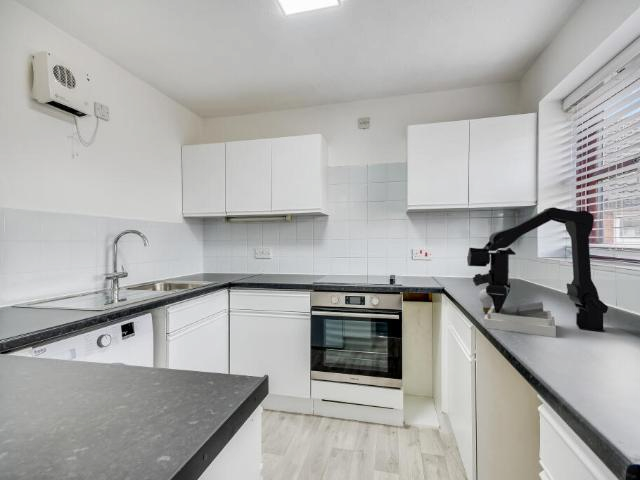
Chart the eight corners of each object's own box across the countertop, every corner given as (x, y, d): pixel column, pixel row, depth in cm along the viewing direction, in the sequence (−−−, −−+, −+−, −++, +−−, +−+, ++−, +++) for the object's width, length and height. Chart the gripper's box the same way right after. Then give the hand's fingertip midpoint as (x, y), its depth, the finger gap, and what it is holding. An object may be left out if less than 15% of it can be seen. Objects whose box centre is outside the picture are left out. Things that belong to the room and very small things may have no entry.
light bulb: (491, 312, 133) (490, 288, 133) (497, 315, 127) (497, 290, 127) (476, 311, 134) (476, 287, 134) (482, 315, 128) (481, 290, 128)
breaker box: (554, 325, 112) (553, 311, 112) (555, 337, 99) (555, 321, 99) (489, 317, 123) (489, 304, 123) (483, 327, 110) (483, 312, 110)
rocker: (543, 305, 112) (541, 301, 112) (543, 312, 102) (542, 307, 102) (499, 311, 120) (498, 307, 120) (495, 318, 110) (494, 314, 110)
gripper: (478, 264, 127) (478, 303, 127) (470, 267, 111) (469, 312, 112) (511, 265, 120) (510, 306, 121) (507, 269, 105) (506, 317, 105)
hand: (498, 310), depth 115 cm, fingers open, 9 cm apart
